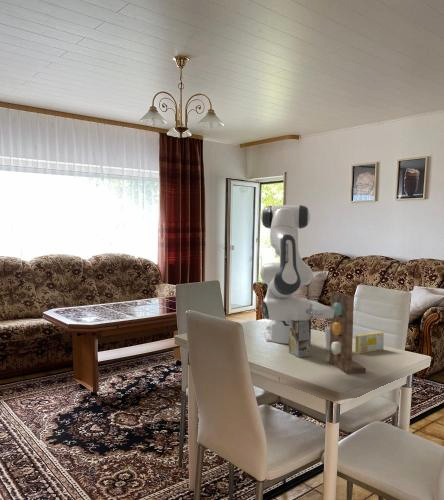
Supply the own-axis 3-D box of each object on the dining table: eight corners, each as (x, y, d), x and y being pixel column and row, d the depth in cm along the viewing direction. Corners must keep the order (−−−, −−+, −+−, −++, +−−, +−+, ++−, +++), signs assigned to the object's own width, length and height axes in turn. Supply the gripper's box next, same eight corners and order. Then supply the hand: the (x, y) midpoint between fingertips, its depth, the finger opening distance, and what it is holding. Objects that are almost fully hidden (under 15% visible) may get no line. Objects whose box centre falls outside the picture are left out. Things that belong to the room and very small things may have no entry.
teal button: (332, 313, 176) (332, 301, 176) (340, 313, 177) (340, 301, 177) (337, 316, 171) (338, 303, 171) (345, 316, 172) (346, 303, 172)
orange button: (331, 333, 177) (332, 321, 176) (339, 333, 177) (340, 321, 177) (337, 336, 172) (337, 323, 172) (345, 336, 172) (345, 323, 172)
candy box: (380, 348, 205) (381, 331, 205) (383, 350, 203) (384, 332, 203) (354, 352, 198) (355, 334, 198) (358, 353, 196) (358, 335, 196)
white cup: (323, 350, 200) (324, 329, 200) (325, 346, 208) (326, 325, 207) (341, 352, 197) (341, 330, 197) (342, 348, 205) (343, 327, 204)
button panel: (329, 361, 183) (331, 291, 182) (346, 360, 184) (349, 291, 183) (346, 373, 167) (349, 297, 166) (365, 373, 169) (368, 297, 167)
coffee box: (310, 356, 190) (312, 320, 189) (298, 357, 188) (299, 321, 187) (300, 350, 199) (301, 316, 198) (287, 351, 196) (288, 317, 196)
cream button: (331, 352, 177) (331, 340, 177) (339, 352, 178) (339, 340, 177) (336, 356, 172) (336, 343, 172) (344, 355, 173) (344, 343, 172)
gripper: (312, 306, 161) (347, 305, 163) (294, 297, 181) (325, 297, 184) (312, 322, 161) (346, 322, 164) (293, 312, 181) (324, 312, 184)
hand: (335, 309), depth 174 cm, fingers closed, pressing on teal button
